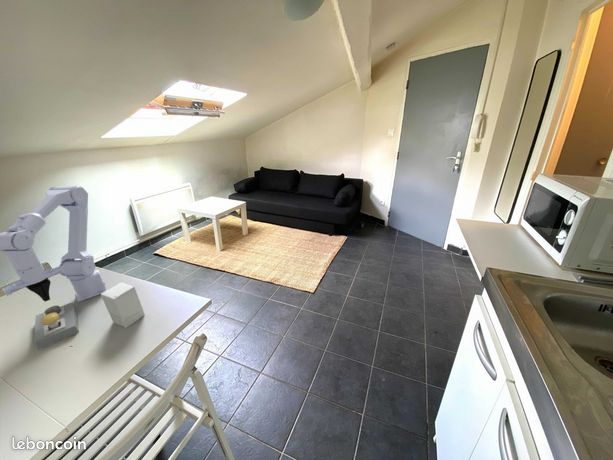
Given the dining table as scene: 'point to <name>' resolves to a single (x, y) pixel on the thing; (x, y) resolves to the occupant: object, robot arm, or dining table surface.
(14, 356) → the dining table surface
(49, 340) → the mount plate
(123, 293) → the supplement box
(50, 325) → the knob
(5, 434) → the dining table surface
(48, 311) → the knob
